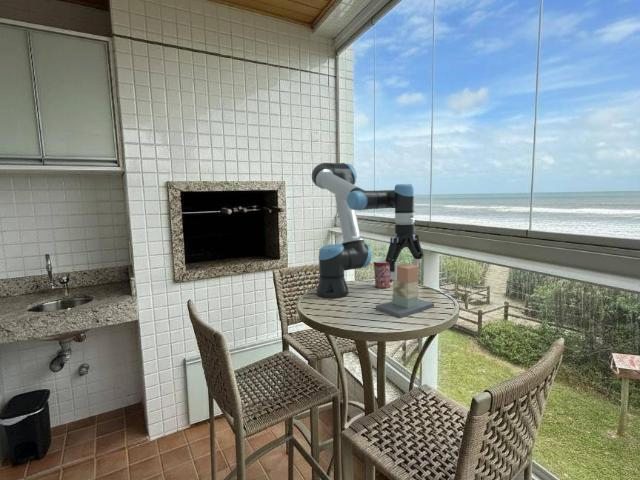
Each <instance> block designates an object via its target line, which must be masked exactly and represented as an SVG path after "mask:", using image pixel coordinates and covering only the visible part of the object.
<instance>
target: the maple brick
mask: <svg viewBox="0 0 640 480" xmlns="http://www.w3.org/2000/svg"><path fill="white" fill-rule="evenodd" d="M392 294H393V295H397V296H400V297H404V298H407V299H410V298H413V297H416V296H418V297H419V281H418V282H414V283H409V284H407V283H403V282H399V281H395V280H393V281H392Z"/></svg>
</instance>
